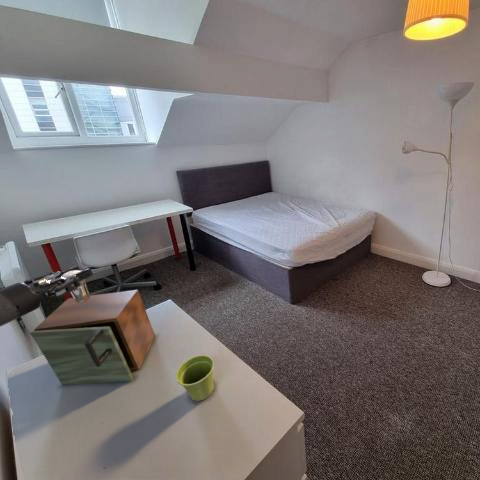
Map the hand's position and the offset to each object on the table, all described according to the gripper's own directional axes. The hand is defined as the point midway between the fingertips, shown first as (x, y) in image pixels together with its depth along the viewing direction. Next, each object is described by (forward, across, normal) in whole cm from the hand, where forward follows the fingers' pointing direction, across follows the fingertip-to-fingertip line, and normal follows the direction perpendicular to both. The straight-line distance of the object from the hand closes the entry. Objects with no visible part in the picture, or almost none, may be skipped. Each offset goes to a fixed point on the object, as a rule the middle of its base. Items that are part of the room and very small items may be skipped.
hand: (84, 270), depth 76 cm
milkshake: (-3, 0, -8) cm, 9 cm away
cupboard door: (-12, +5, -32) cm, 34 cm away
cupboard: (-2, 0, -32) cm, 32 cm away
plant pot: (-3, +36, -32) cm, 48 cm away
